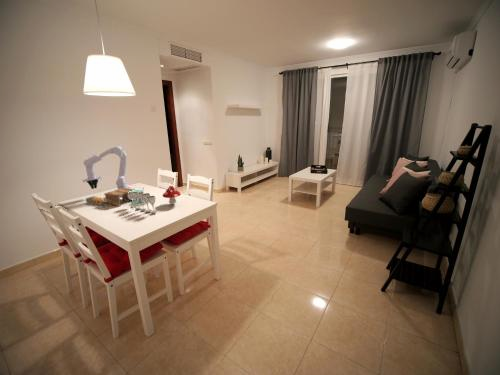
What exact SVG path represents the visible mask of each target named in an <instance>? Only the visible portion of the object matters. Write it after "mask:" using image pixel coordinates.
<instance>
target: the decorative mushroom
mask: <svg viewBox="0 0 500 375" xmlns="http://www.w3.org/2000/svg"><path fill="white" fill-rule="evenodd" d="M181 195H182V194H181V193H180V191H179V190H178V189H176V188H175V186H172V185H170V186H168V187H167V189H166V190H165V192H163V194H162V197H163V198H166V199H169V200H168V203H169V204H170V205H174V204H176V203H177V200H176V198H178V197H179V196H181Z"/></svg>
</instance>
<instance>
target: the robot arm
mask: <svg viewBox="0 0 500 375" xmlns="http://www.w3.org/2000/svg"><path fill="white" fill-rule="evenodd" d="M111 154H113V155H114V154H115V155H116V156H118V157H119V169H118V176H117V180H116V181H115V185H116V187H117V190H118V189H121V188H127V189H131V187H130V185H129V184H126V182H127V180H126V168H127V162H128V161H127V160H128V155H127V154H126V151H125V149H124V148H123V146H120V145H117V146H114V147H111V148H108V149H107V150H105V151H103V152H101V153H100V154H97V153H96V154H93V155H92V156H91V157H88V158H87V159H85V160H83V165H84V166H85V171H86V176H87V178H85V179H82V183H88V185H89V186H90V188H91V190H94V189H97V187H98V183H99V180H101V179H102V177H101V176H100V175H99V176H96V171H95V167H94V165H95V164H97V163H98V162H100V161H102V160H103V158H104V157H106V156H108V155H111ZM119 197H120V198H121V197H122V195H120V196H119Z"/></svg>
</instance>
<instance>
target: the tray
mask: <svg viewBox="0 0 500 375" xmlns="http://www.w3.org/2000/svg"><path fill="white" fill-rule="evenodd" d="M85 201H86V204H88V205H92V206H93V205H94V206H99V207H103V206H107V202H106V200H104V197H100V196H95V195H94V196H90V197H87V198H85Z"/></svg>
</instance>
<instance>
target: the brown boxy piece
mask: <svg viewBox="0 0 500 375" xmlns="http://www.w3.org/2000/svg"><path fill="white" fill-rule="evenodd" d="M132 190H135V191H136V189H133V188H130V189H127V188H121V189H118V188H117V189H115V190H112V191H109V192H105V193H104V195H103V196H105V201H106V202H107V205H108V206H113V207H121V206H122V205H121V196H120V195H122V200H126V201H131V200H130V199H129V198H128V192H129V191H132ZM107 205H106V206H107Z"/></svg>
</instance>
